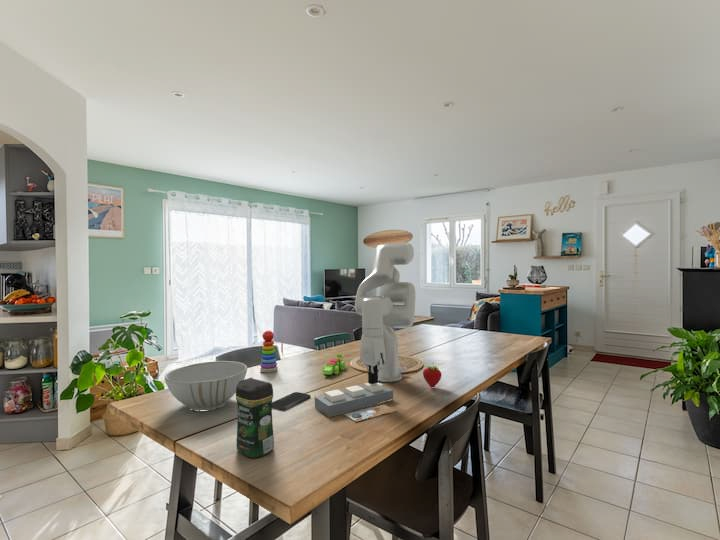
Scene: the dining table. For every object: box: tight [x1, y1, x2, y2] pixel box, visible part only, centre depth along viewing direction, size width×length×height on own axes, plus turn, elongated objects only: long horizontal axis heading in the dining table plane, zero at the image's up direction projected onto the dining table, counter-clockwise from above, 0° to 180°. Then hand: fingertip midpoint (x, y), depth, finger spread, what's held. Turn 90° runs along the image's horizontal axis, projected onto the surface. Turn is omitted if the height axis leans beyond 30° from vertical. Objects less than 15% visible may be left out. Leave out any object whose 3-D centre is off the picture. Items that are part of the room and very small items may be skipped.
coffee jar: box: [235, 377, 275, 459], centre depth 97 cm, size 10×8×19 cm
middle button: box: [344, 385, 365, 397], centre depth 129 cm, size 5×5×4 cm
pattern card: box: [344, 406, 376, 421], centre depth 120 cm, size 16×7×1 cm, turn 123°
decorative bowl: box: [164, 360, 248, 412], centre depth 130 cm, size 27×27×12 cm
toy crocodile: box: [322, 354, 346, 375], centre depth 169 cm, size 20×7×6 cm, turn 162°
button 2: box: [363, 382, 384, 393], centre depth 133 cm, size 5×5×4 cm
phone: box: [272, 391, 311, 411], centre depth 132 cm, size 8×1×15 cm
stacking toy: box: [259, 330, 279, 374], centre depth 172 cm, size 8×8×19 cm
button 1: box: [324, 388, 345, 402], centre depth 124 cm, size 5×5×4 cm
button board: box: [314, 385, 394, 418], centre depth 129 cm, size 26×10×4 cm, turn 123°
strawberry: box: [422, 362, 443, 388], centre depth 145 cm, size 6×8×10 cm
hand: (373, 383), depth 133 cm, fingers closed
